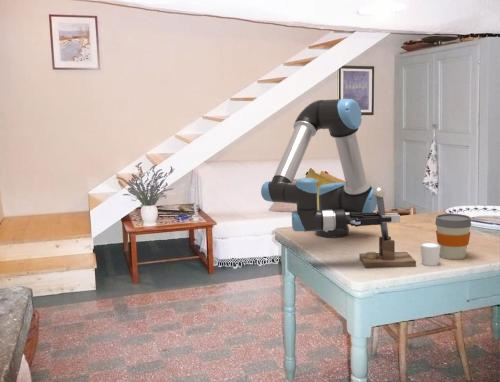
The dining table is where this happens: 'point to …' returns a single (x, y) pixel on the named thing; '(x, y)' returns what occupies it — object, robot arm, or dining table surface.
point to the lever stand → (386, 256)
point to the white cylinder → (430, 254)
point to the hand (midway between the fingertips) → (398, 217)
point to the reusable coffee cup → (453, 235)
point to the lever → (381, 210)
